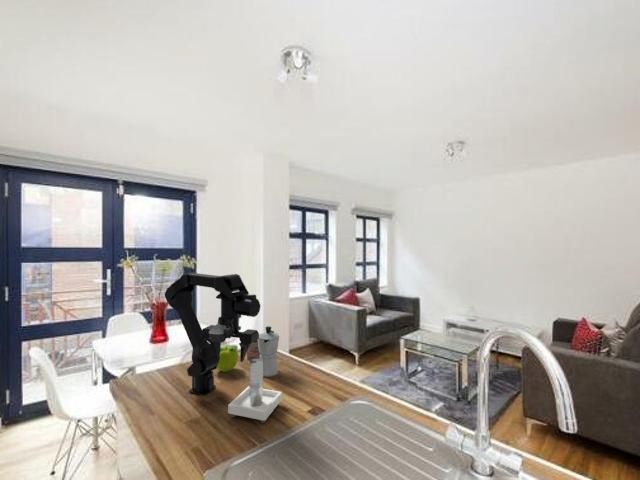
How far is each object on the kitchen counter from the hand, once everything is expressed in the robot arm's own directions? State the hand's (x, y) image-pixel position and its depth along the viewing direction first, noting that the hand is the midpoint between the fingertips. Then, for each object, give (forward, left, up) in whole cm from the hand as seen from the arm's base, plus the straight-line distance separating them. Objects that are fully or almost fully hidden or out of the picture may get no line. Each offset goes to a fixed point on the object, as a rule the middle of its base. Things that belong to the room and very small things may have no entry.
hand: (229, 359), depth 104 cm
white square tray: (+12, -4, -13) cm, 18 cm away
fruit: (-13, +18, -13) cm, 26 cm away
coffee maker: (+3, +23, -13) cm, 27 cm away
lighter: (-8, +33, -13) cm, 36 cm away
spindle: (+12, -4, -10) cm, 16 cm away
